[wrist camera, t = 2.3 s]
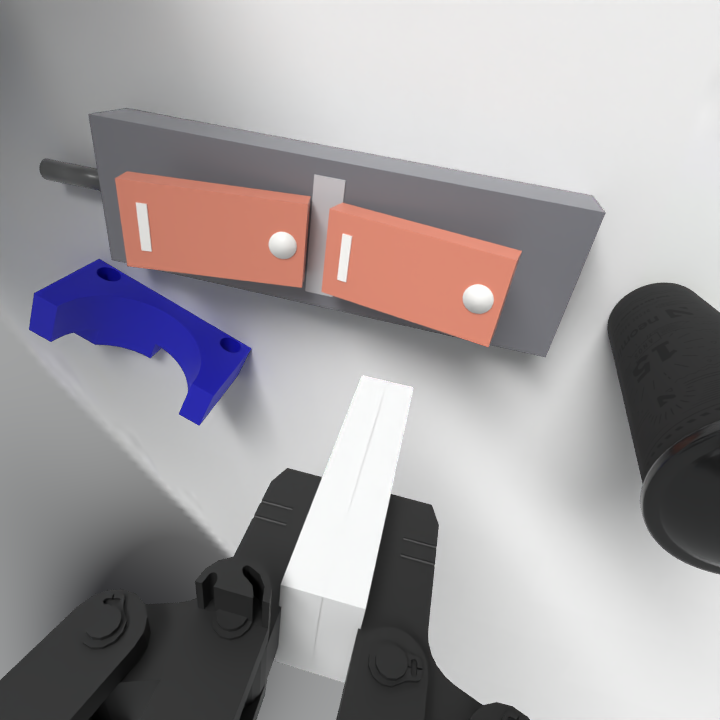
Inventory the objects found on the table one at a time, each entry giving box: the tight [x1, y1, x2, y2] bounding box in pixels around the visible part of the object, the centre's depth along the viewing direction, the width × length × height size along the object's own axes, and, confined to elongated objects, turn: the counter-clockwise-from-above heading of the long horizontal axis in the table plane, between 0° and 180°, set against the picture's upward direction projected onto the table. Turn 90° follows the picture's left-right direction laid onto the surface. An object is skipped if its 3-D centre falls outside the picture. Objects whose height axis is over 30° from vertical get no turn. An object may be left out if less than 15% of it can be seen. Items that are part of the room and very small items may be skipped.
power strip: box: [40, 108, 605, 357], centre depth 27 cm, size 31×8×3 cm, turn 81°
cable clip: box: [29, 259, 251, 425], centre depth 33 cm, size 12×4×6 cm, turn 59°
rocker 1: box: [115, 171, 311, 288], centre depth 25 cm, size 9×4×2 cm, turn 82°
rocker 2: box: [321, 203, 522, 347], centre depth 24 cm, size 9×4×2 cm, turn 82°
